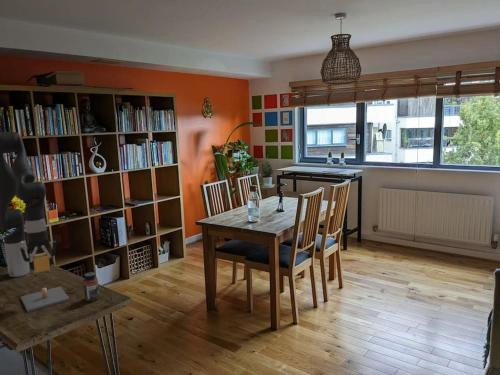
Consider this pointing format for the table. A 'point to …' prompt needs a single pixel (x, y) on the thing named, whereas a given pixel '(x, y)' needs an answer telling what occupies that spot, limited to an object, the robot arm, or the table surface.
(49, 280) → the table surface
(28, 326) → the table surface
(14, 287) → the table surface
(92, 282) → the supplement bottle
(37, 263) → the mustard foam cube
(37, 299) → the thin gray plate
